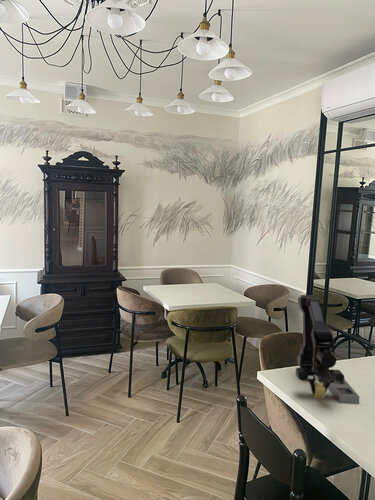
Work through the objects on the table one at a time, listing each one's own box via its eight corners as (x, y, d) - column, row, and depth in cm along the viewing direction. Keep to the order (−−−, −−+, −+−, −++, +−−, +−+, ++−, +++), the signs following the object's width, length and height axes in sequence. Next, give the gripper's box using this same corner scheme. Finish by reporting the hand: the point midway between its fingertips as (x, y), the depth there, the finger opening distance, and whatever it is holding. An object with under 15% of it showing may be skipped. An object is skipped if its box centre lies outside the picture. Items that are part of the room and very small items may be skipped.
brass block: (314, 398, 149) (315, 386, 148) (312, 393, 152) (312, 382, 152) (324, 398, 148) (325, 387, 148) (321, 394, 152) (322, 383, 152)
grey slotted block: (338, 402, 145) (339, 395, 145) (324, 382, 163) (325, 376, 163) (358, 403, 145) (359, 396, 145) (342, 383, 163) (342, 377, 163)
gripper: (302, 364, 142) (300, 402, 143) (350, 367, 140) (348, 404, 142) (296, 354, 153) (294, 389, 154) (340, 356, 152) (338, 391, 153)
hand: (318, 393), depth 150 cm, fingers closed on brass block, 4 cm apart
